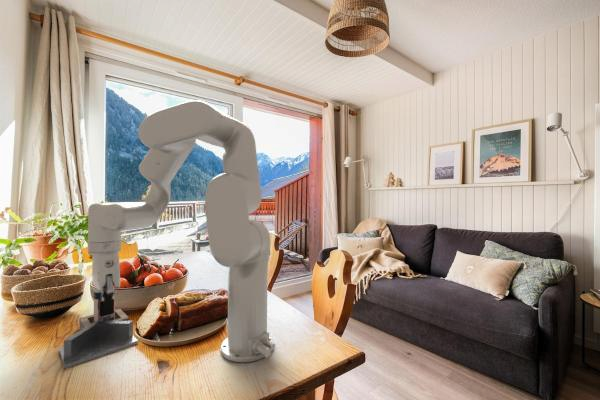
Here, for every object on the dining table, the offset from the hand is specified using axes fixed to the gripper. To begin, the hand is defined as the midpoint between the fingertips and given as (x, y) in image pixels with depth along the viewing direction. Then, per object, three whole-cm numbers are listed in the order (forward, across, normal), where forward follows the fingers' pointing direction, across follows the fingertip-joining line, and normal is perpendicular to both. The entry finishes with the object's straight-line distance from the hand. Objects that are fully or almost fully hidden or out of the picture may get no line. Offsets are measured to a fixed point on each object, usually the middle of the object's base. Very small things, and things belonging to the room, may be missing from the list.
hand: (104, 311), depth 75 cm
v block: (+5, -11, +3) cm, 12 cm away
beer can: (+5, 0, 0) cm, 5 cm away
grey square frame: (+5, 0, 0) cm, 5 cm away
